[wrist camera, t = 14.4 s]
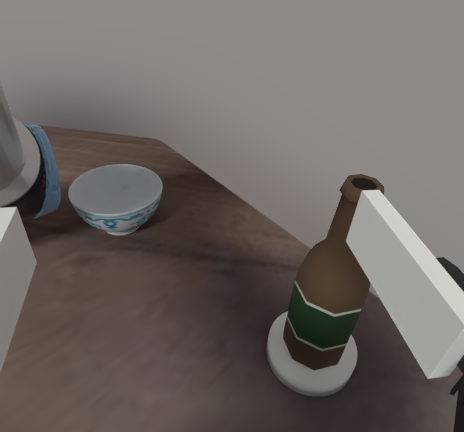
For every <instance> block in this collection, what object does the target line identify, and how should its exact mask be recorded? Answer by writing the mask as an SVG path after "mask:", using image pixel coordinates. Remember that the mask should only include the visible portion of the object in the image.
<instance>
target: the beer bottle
mask: <svg viewBox="0 0 464 432" xmlns="http://www.w3.org/2000/svg"><path fill="white" fill-rule="evenodd" d="M364 190H380V191H381V193H382V194H383V195H384V186H383V185H381V183H380V182H379V181H378V180H377V179H375V178H372V177H369V176H366V175H362V174H360V175H350V176H348V177H347V179H346V181H345V182H344V184H343V185H342V187H341V189H340V191H341V193H342V196H341V199H340V202H339V205H338V207H337V210H336V213H335V215H334V218H333V221H332V224H331V226H330V229H329V232H328V235H327V237H326V239H325V240H323V241H321V242H319V243H318V244H316V245H315V246H314V247H313V248H312V249H311V251H310V252H309V253H308V255H307V257H306V258H305V260H304V262H303V263H302V265H301V267H300V268H299V271H298V274H297V277H296V280H295V284H294V288H293V292H292V297H291V301H290V305H289V310H288V314H287V318H286V323H285V327H284V333H283V339H284V341H285V344H286V346H287V348H288V351H289V353H290V355H291V358H292V359H293V360H295V361H297V362H299V363H301V364H303V365H305V366H306V367H308V368H310V369H312V370H318V369H322V368H326V367H330V366H334V365H337V364H338V362H339V360H340V359H341V357H342V354H343V352H344V350H345V347H346V345H347V342H348V340H349V338H350V335H351V333H352V330H353V328H354V326H355V323H356V321H357V319H358V316H359V314H360V311H361V309H362V306H363V304H364V301H365V298H366V296H367V293H368V290H369V287H370V284H371V283H370V281H369V279H368V278H367V276H366V274H365V272H364V271H363V269H362V267H361V266H360V264H359V262H358V261H357V259H356V257H355V256H354V254H353V252H352V251H351V249H350V247H349V246H348V244H347V242H346V239H347V236H348V232H349V229H350V226H351V223H352V220H353V217H354V214H355V211H356V208H357V204H358V201H359V198H360V195H361V192H362V191H364Z"/></svg>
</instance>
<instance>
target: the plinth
mask: <svg viewBox="0 0 464 432" xmlns="http://www.w3.org/2000/svg"><path fill="white" fill-rule="evenodd" d="M287 314H288V311H287V312H285V313H283V314H282V315H280V316H279V317H278V318H277V319H276V320H275V321H274V323H273V324H272V326H271V328H270V332H269V336H268V342H267V348H266V354H267V360H268V363H269V366H270V368H271V370H272V371H273V373H274V374H275V376H276V377H277V378H278V379H279V380H280V381H281V382H282V383H283V384H284V385H285V386H287V387H288V388H290V389H291V390H293V391H295V392H297V393H299V394H302V395H306V396H311V397H324V396H329V395H332V394H334V393H336V392H338V391H340V390H341V389H342V388H343V387H344V386H345V385H346V384H347V382H348V381H349V379H350V377H351V375H352V372H353V370H354V368H355V366H356V362H357V347H356V344H355V341H354V339H353V337H352V335H350V338H349V340H348V342H347V345H346V347H345V350H344V352H343V354H342V357H341V359H340V360H339V362H338V364H337V365H334V366H330V367H326V368H322V369H318V370H312V369H310V368H308V367H306V366H305V365H303V364H301V363H299V362H297V361H295V360H293V359H292V358H291V355H290V353H289V351H288V348H287V346H286V344H285V341H284V339H283V333H284V327H285V323H286V318H287Z"/></svg>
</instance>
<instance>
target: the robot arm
mask: <svg viewBox="0 0 464 432" xmlns="http://www.w3.org/2000/svg"><path fill="white" fill-rule="evenodd" d="M58 183H59V176H58V170H57V166H56V162H55V158H54V154H53V151H52V148H51V145H50V142H49V140H48V138H47V136H46V134H45V132H44V131H43V130H42V128H41V127H39V126H37V125H34V124H32V125H28V124H22V123H20V122H19V121H18V120H16V119H15V118H13V117H12V114H11V111H10V108H9V106H8V102H7V99H6V97H5V94H4V91H3V88H2V85H1V82H0V373H1V369H2V366H3V363H4V360H5V357H6V354H7V351H8V348H9V345H10V342H11V339H12V336H13V333H14V330H15V327H16V324H17V321H18V318H19V315H20V312H21V309H22V306H23V303H24V300H25V297H26V294H27V291H28V288H29V285H30V282H31V279H32V276H33V273H34V270H35V267H36V264H37V262H36V259H35V256H34V254H33V251H32V248H31V245H30V242H29V240H28V237H27V234H26V231H25V228H24V226H23V223H22V220H26V219H35V218H38V217H40V216H41V215H44V214H47V213H51V212H53V211H55V210H56V209H57V208H58V206H59V204H60V199H61V191H60V186H59V184H58ZM346 242H347V244H348V246H349V247H350V249H351V251H352V252H353V254H354V256H355V257H356V259H357V261H358V262H359V264H360V266H361V267H362V269H363V271H364V272H365V274H366V276H367V278H368V279H369V281H370V283H371V284H372V286H373V288H374V289H375V291H376V293H377V294H378V296H379V298H380V299H381V301H382V303H383V304H384V306H385V308H386V310H387V311H388V313H389V315H390V316H391V318H392V320H393V321H394V323H395V325H396V326H397V328H398V330H399V331H400V333H401V335H402V336H403V338H404V340H405V341H406V343H407V345H408V347H409V348H410V350H411V352H412V353H413V355H414V357H415V358H416V360H417V362H418V363H419V365H420V367H421V368H422V370H423V372H424V373H425V375H426V377H427V379H430V378H437V377H444V376H449V375H450V374H451V373H452V371H453V370H454V369H455V367H456V366H457V365H458V367H459V368H460V370H461V371H462V373H463V375H462V377H461V378H460V379H459V380H458V382H457V383H456V384H455V385H454V387H453V388H452V390H451V392H450V394H451V395H454V394H455V393H456V392H457V390H458V399H457V407H456V416H455V424H454V432H464V274H463V273H462V272H461V271H460V269H459V268H458V267H456V266H455V265H453V264H452V263H451V262H449V261H448V260H446V259H445V258H444V257H442V258H435V257H434V256H433V254H431V252H430V251H429V250H428V248H427V247H426V246H425V245H424V243H423V242H422V241H421V240H420V239H419V237H417V235H416V234H415V233H414V231H413V230H412V229H411V228H410V226H409V225H408V224H407V223H406V222H405V220H404V219H403V218H402V217H401V216H400V215H399V213H398V212H397V211H396V210H395V208H394V207H393V206H392V205H391V203H389V201H388V200H387V199H386V197H385V196H384V195H383V194H382V193H381V191H380V190H364V191H362V192H361V195H360V198H359V201H358V204H357V208H356V211H355V214H354V217H353V220H352V223H351V226H350V229H349V232H348V236H347V239H346Z"/></svg>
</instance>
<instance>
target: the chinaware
mask: <svg viewBox="0 0 464 432" xmlns="http://www.w3.org/2000/svg"><path fill="white" fill-rule="evenodd" d="M162 188H163V186H162V181H161V179H160V178H159V176H158V175H157V174H156V173H154V172H153V171H151V170H149V169H147V168H144V167H141V166H136V165H129V164H116V165H107V166H102V167H99V168H95V169H92V170H90V171H88V172H86V173H84V174H82V175H80V176H79V177H78V178H77V179H75V180H74V181H73V183H72V184H71V186H70V188H69V191H68V197H69V200H70V202H71V204H72V206H73V208H74V209H75V211H76V212H77V213H78V215H79V216H80V217H81V218H82V219H83V220H84V221H86V222H87V223H88V224H90V225H91V226H93V227H95V228H97V229H100V230H103V231H106V232H107V233H109V234H112V235H126V234H129V233H132V232H134V231H135V230H137V229H138V228H139V227H140V226H141V225H142V224H144V223H145V222H146V221H147V220H148V219H149V218H150V217H151V216H152V215H153V214H154V212H155V210H156V209H157V207H158V204H159V202H160V199H161V195H162Z"/></svg>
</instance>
